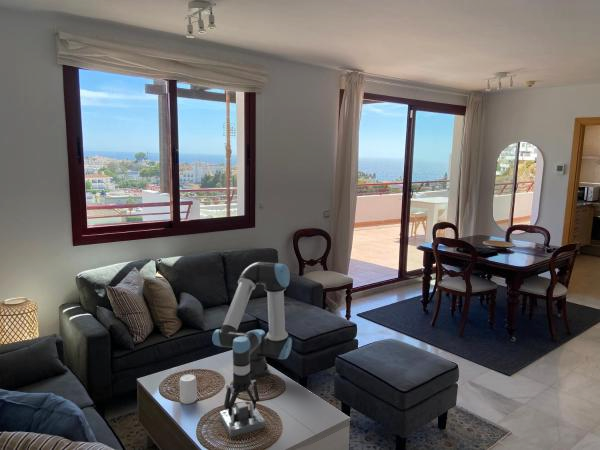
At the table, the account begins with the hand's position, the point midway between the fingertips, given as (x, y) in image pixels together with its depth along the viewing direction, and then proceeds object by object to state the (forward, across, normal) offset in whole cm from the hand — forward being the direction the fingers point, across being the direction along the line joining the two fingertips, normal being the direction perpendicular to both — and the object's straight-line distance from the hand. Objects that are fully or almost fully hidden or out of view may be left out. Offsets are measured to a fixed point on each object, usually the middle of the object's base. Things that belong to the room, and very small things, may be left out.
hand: (242, 418), depth 202 cm
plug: (+2, 0, 0) cm, 2 cm away
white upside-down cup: (+2, +18, -29) cm, 34 cm away
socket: (+2, 0, 0) cm, 2 cm away
